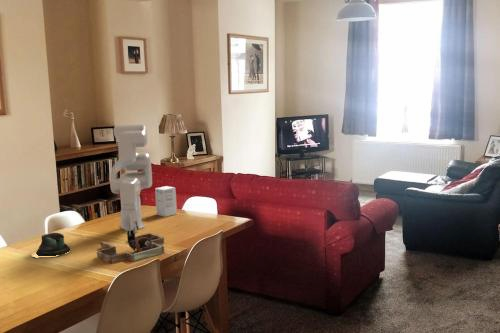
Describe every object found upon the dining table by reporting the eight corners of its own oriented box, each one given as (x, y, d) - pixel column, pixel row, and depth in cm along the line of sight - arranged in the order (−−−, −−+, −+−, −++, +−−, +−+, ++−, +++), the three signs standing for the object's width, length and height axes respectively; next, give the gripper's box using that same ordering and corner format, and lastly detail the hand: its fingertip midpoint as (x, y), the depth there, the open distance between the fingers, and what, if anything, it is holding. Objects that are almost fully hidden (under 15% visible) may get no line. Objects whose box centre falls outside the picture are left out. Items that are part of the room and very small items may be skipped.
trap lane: (84, 251, 252) (84, 245, 252) (146, 236, 276) (145, 230, 275) (115, 266, 231) (114, 260, 230) (179, 248, 254) (178, 242, 253)
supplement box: (177, 214, 322) (176, 187, 319) (165, 216, 315) (164, 189, 313) (167, 211, 329) (166, 185, 326) (156, 214, 322) (154, 188, 319)
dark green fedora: (83, 250, 256) (82, 232, 254) (49, 262, 239) (47, 243, 238) (57, 244, 266) (55, 227, 265) (22, 255, 250) (21, 237, 248)
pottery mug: (154, 249, 255) (155, 237, 250) (148, 263, 248) (150, 251, 243) (130, 243, 255) (131, 231, 250) (124, 257, 247) (125, 245, 243)
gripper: (114, 205, 253) (117, 241, 255) (130, 210, 242) (132, 248, 245) (128, 202, 258) (130, 238, 261) (144, 207, 247) (146, 244, 250)
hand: (131, 242), depth 253 cm, fingers closed
